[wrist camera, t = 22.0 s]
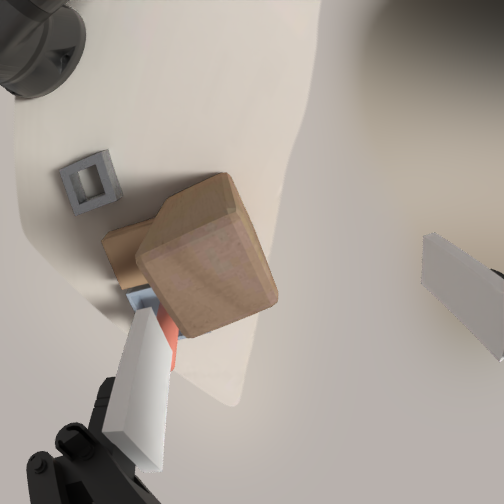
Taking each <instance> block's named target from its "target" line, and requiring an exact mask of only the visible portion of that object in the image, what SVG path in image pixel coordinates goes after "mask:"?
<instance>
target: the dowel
mask: <svg viewBox="0 0 504 504" xmlns="http://www.w3.org/2000/svg"><path fill="white" fill-rule="evenodd" d="M156 318H157V320H158V323H159V325H160V327H161V329H162V331H163V333H164V335H165V337H166V339H167V341H168V344H169V346H170V348H171V350H172V352H173V353H172V362H171V371H172V370H173V369H174V367H175V358H176V350H177V341H178V333H179V329H178V327H177V326H176V324H175V323H174V321H173V320H172V318H171V317H170V316H169V314H168V313H167V311H166V310H165V308H164V307H163V305H162V304H161V302H160V304H159V308H158V312H157V316H156ZM171 371H170V372H171Z"/></svg>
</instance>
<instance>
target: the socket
mask: <svg viewBox="0 0 504 504" xmlns="http://www.w3.org/2000/svg"><path fill="white" fill-rule="evenodd" d="M95 164H96V167H97V170H98V173H99V176H100V179H101V182H102V185H103V188H104V191H105V193H102V194H99V195H97V196H94V197H92V198H89V199H87V198H86V195H85V192H84V189H83V187H82V184H81V181H80V178H79V175H78V171H80V170H83V169H85V168H87V167H90V166H92V165H95ZM59 171H60V175H61V178H62V181H63V184H64V186H65V189H66V192H67V195H68V198H69V201H70V203H71V206H72V209H73V211H74V214H75V216H77V215H79V214H82V213H85V212H87V211H90V210H92V209H95V208H98V207H101V206H103V205H106V204H109V203H111V202H114V201H117V200H118V199H119V198H120V197H122V196H123V194H122V191H121V188H120V185H119V182H118V179H117V176H116V173H115V170H114V167H113V163H112V160H111V157H110V154H109V151H108V150H105V151H102V152H99V153H97V154H94V155H92V156H89V157H87V158H85V159H83V160H80V161H78V162H76V163H73V164H71V165H69V166H67V167H65V168H63V169H60V170H59Z"/></svg>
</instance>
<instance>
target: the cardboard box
mask: <svg viewBox="0 0 504 504" xmlns="http://www.w3.org/2000/svg"><path fill="white" fill-rule="evenodd" d="M154 219H155V218H153V219H149V220H146V221H142V222H139V223H136V224H133V225H129V226H126V227H123V228H120V229H116V230H113V231H110V232H108V233H107V235H106V236H105V237H104V238H103V239H102V241H101V242H102V244H103V247H104V249H105V252H106V254H107V257H108V259H109V261H110V264H111V266H112V268H113V271H114V273H115V275H116V278H117V280H118V282H119V284H120V287H121V289H122V290H123V289H127V288H131V287H135V286H139V285H143V284H147V283H148V282H147V280H146V279H145V277H144V276H143V274H142V272H141V271H140V269H139V268H138V266H137V264H136V258H135V254H136V252H137V251H138V249H139V247H140V245H141V243H142V241H143V239H144V237H145V236H146V234H147V232H148V230H149V228H150V226H151V225H152V223H153V221H154Z"/></svg>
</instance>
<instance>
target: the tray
mask: <svg viewBox="0 0 504 504" xmlns="http://www.w3.org/2000/svg"><path fill="white" fill-rule="evenodd" d="M126 296H127V298H128V300H129V302H130V304H131V306H132V308H133V310H134V312H136V310H140V309H144V308H148V307H152V309H153V312H154V314H155V316H157V312H158V308H159V304H160V301H159V299H158V298H157V296H156V294H155V293H154V291H153V290H152V288H151V287H150V285H149V284H148V283H147V284H143V285H139V286H135V287H131V288H128V290H127V293H126ZM210 332H211V331H210ZM210 332H208V333H210ZM205 334H206V333H205ZM184 338H186V337H185V336H183V334H182V333H181V332H180V330H179V333H178V340H180V339H184Z"/></svg>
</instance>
